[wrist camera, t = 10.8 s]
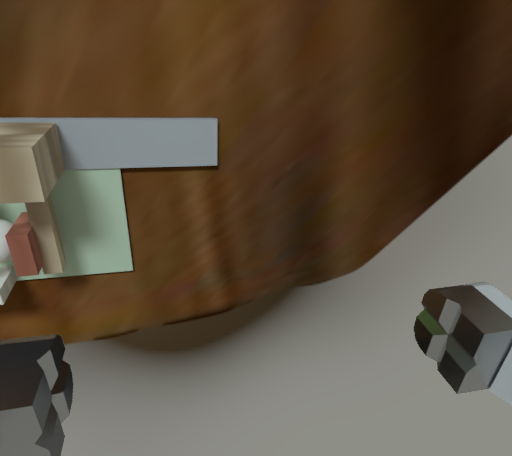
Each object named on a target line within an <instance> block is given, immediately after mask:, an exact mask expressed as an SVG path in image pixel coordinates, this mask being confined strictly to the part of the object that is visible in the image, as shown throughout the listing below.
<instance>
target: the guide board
mask: <svg viewBox="0 0 512 456" xmlns="http://www.w3.org/2000/svg"><path fill="white" fill-rule="evenodd" d="M0 123H56V127H57V132H58V137H59V142H60V147H61V152H62V157H63V162H64V167H65V169H64V170H72V169H108V168H145V167H181V166H217V118H0Z"/></svg>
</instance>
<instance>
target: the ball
mask: <svg viewBox="0 0 512 456" xmlns="http://www.w3.org/2000/svg"><path fill="white" fill-rule="evenodd" d="M12 225H13V223H11V222H9V221H7V220H4V219H0V263H4V262H7V261H9V260H11V259H12V257H11V254H10V251H9V247H8V244H7V241H6V238H5V236H6V234H7V233H8V231H9V230H10V228H11V227H12Z"/></svg>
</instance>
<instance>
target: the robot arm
mask: <svg viewBox="0 0 512 456" xmlns="http://www.w3.org/2000/svg"><path fill="white" fill-rule="evenodd" d="M422 305H423V307H424V310H423V311H422V312H421V313H420V314H419V315H418V316H417V317H416V321H415V325H414V332H415V339H416V341H417V343H418V345H419V347H420V348H421V350H422V351H423V352H424V354H425V355H426V356H428V357H430V358H432V359H433V360H435V361H437V365H438V371H439V372H440V373H441V375H442V376H443V377H444V378H445V380H446V381H447V382H448V383H449V384H450V386H451V387H452V388H453V390H454V391H455V392H456V393H457V394H458V393H464V392H471V391H477V390H483V389H488V388H490V390H489V391H491V392H492V393H493V394H495V395H496V396H498V397H499V398H501V399H503V400H504V401H506V402H507V403H509V404H510V405H512V300H511V299H510V298H508V297H507V296H506V295H504V294H503V293H502V292H501V291H499V290H498V289H496V288H495V287H494V286H493V285H491V284H488V283H485V282H479V283H472V284H466V285H459V286H452V287H444V288H437V289H429V290H428V291H427V292H426V293H425V294H424V297H423V300H422ZM64 352H65V346H64V342H63V339H62V336H60V335H58V334H55V335H45V336H35V337H25V338H15V339H5V340H0V456H61V451H62V447H63V442H64V437H65V435H64V432H63V429H62V426H61V423H62V422H63V421H64V420H65V419H66V418H67V417H68V416H69V414H70V409H71V404H72V396H73V378H72V372H71V368H70V365H69V364H68V363H66V362H64V361H63V356H64Z"/></svg>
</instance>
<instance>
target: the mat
mask: <svg viewBox="0 0 512 456" xmlns="http://www.w3.org/2000/svg"><path fill="white" fill-rule="evenodd" d="M50 193H51V198H52V202H53V206H54V211H55V215H56V219H57V224H58V228H59V232H60V237H61V241H62V245H63V250H64V254H65V259H66V266H65V269H64V272H63V273H55V274H44V273H43V269H42V268H41V270H40V272H39V274H38V275H32V276H20V277H18V276H17V278H18V279H17V280H16V281H19V280H30V279H42V278H53V277H65V276H76V275H88V274H99V273H111V272H123V271H133V263H132V255H131V248H130V240H129V232H128V224H127V216H126V208H125V201H124V193H123V185H122V177H121V169H120V168H108V169H72V170H64V171H63V173H62V174H61V176H60V177H59V179H58V181H57V182H56V184H55V186H54V187H53V189H52V191H51V192H50ZM21 212H27V210H26V206H25V203H7V204H0V219H4V220H7V221H9V222H11V223H13V224H14V223H15V221H16V220H17V218H18V217H19V215H20V214H21ZM8 266H14V263H13V260H12V259H11V260H9V261H7V262H4V263H0V267H8ZM14 269H15V267H14ZM15 272H16V270H15ZM16 275H17V273H16Z"/></svg>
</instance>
